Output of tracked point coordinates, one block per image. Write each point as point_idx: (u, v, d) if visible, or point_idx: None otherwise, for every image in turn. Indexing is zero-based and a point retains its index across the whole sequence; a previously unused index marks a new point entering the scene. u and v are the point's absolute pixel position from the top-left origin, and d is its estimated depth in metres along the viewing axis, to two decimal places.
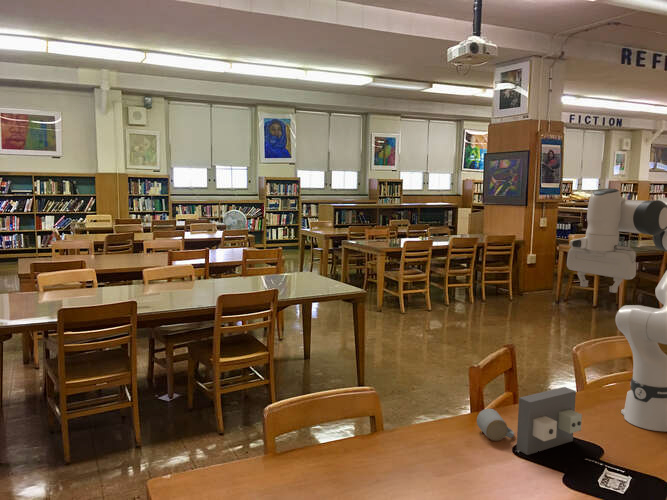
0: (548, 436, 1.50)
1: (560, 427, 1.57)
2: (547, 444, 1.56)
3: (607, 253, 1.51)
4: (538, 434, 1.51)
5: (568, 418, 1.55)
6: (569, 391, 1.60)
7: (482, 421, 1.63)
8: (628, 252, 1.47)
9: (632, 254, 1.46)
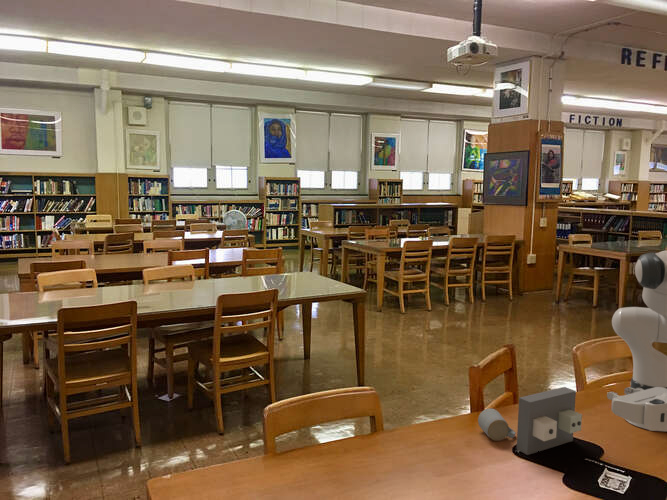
0: (548, 436, 1.50)
1: (560, 427, 1.57)
2: (547, 444, 1.56)
3: None
4: (538, 434, 1.51)
5: (568, 418, 1.55)
6: (569, 391, 1.60)
7: (483, 421, 1.63)
8: None
9: None
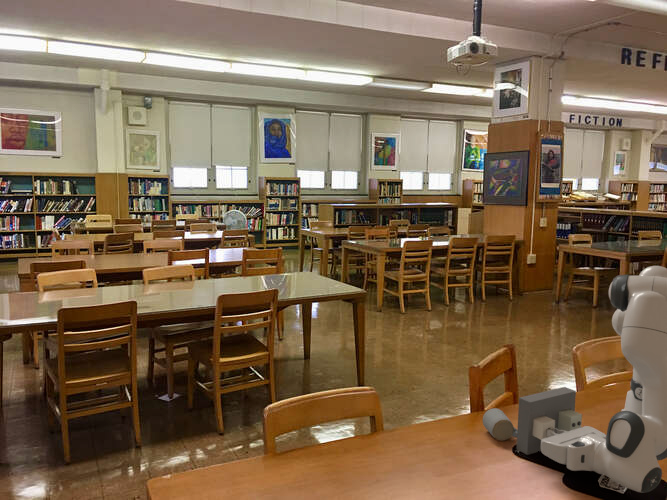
0: (546, 435, 1.50)
1: (560, 427, 1.57)
2: None
3: None
4: (536, 433, 1.51)
5: (568, 418, 1.55)
6: (569, 391, 1.60)
7: (488, 421, 1.63)
8: None
9: None
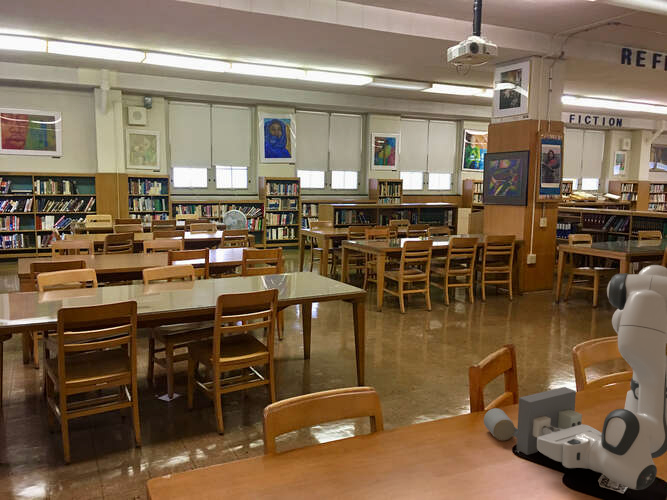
0: (542, 433, 1.52)
1: (560, 427, 1.57)
2: None
3: None
4: (532, 431, 1.53)
5: (568, 418, 1.55)
6: (569, 391, 1.60)
7: (489, 421, 1.63)
8: None
9: None
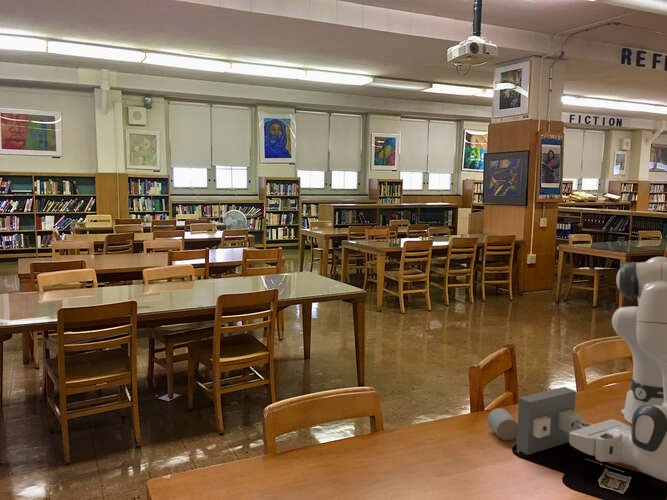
0: (542, 433, 1.52)
1: (559, 427, 1.58)
2: (547, 444, 1.56)
3: None
4: (532, 431, 1.53)
5: (567, 418, 1.55)
6: (569, 391, 1.60)
7: (493, 421, 1.64)
8: None
9: None
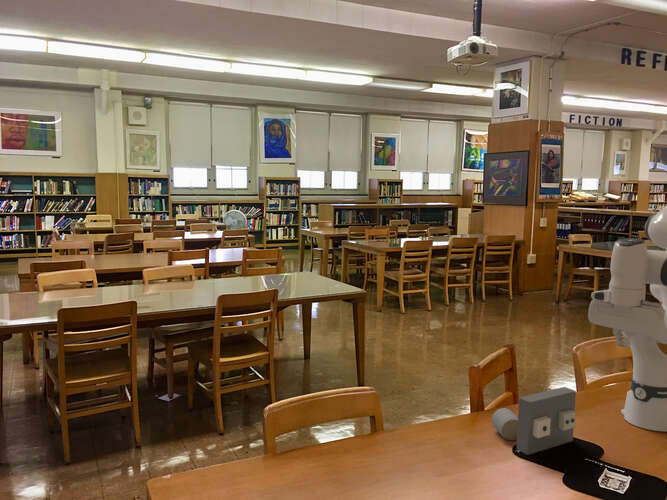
0: (542, 433, 1.52)
1: None
2: (547, 444, 1.56)
3: (633, 308, 1.40)
4: (532, 431, 1.53)
5: (562, 415, 1.56)
6: (569, 391, 1.60)
7: (497, 421, 1.64)
8: (656, 309, 1.36)
9: (661, 311, 1.35)
